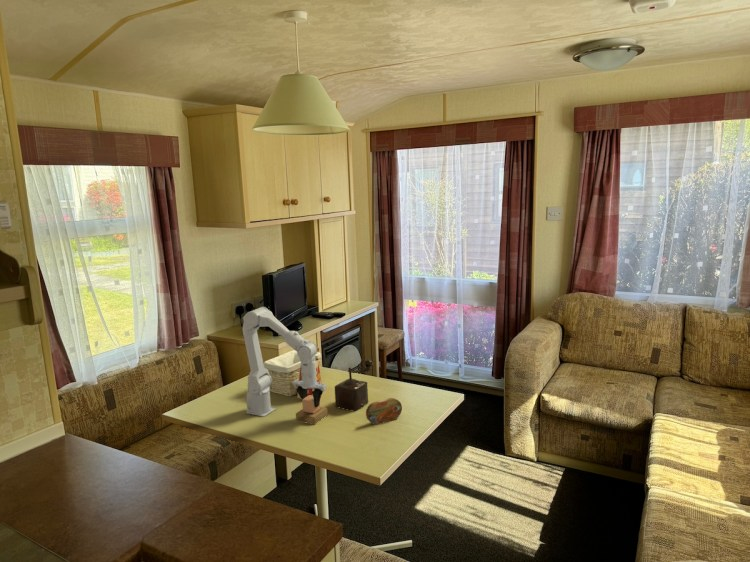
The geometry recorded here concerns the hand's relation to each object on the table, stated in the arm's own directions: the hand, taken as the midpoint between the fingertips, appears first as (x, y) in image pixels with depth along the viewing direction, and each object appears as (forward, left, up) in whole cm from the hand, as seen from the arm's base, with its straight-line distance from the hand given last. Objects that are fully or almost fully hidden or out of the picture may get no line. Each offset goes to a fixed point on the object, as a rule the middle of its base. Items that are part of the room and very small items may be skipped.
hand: (311, 405), depth 207 cm
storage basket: (-28, +26, -6) cm, 38 cm away
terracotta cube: (0, 0, -2) cm, 2 cm away
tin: (+28, +9, -6) cm, 30 cm away
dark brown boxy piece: (+9, +20, -6) cm, 23 cm away
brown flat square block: (0, 0, -5) cm, 5 cm away
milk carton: (-14, +20, -6) cm, 25 cm away
